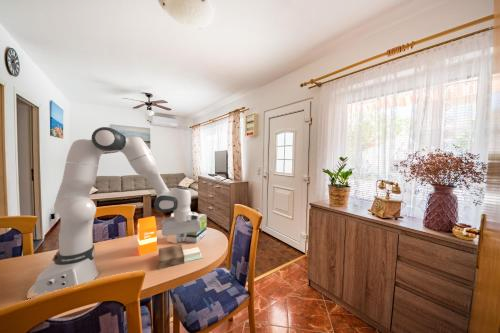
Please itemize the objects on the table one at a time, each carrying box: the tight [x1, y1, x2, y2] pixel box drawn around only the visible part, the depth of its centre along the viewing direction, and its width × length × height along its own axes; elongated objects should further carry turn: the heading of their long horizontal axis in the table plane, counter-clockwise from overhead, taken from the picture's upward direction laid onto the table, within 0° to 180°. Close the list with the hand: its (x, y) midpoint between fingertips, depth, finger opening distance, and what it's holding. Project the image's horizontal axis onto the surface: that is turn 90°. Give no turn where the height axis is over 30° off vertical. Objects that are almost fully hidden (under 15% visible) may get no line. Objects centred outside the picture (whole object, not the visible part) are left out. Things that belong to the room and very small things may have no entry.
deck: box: [158, 244, 185, 270], centre depth 103 cm, size 12×14×4 cm
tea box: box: [183, 212, 208, 244], centre depth 130 cm, size 15×10×15 cm, turn 168°
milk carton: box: [166, 212, 184, 244], centre depth 125 cm, size 7×7×19 cm
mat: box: [184, 251, 204, 263], centre depth 108 cm, size 10×12×1 cm
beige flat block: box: [182, 246, 201, 259], centre depth 108 cm, size 9×6×2 cm, turn 116°
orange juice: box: [136, 215, 158, 256], centre depth 112 cm, size 8×9×20 cm
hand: (181, 240), depth 105 cm, fingers closed
